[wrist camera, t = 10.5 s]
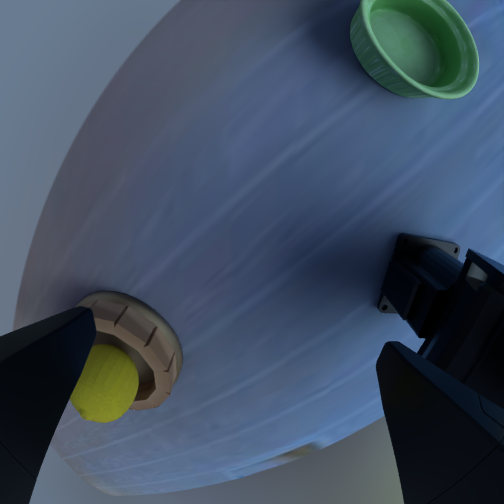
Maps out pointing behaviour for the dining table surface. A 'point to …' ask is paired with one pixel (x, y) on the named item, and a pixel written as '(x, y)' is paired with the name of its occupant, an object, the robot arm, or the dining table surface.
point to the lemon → (106, 384)
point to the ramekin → (415, 47)
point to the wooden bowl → (138, 343)
